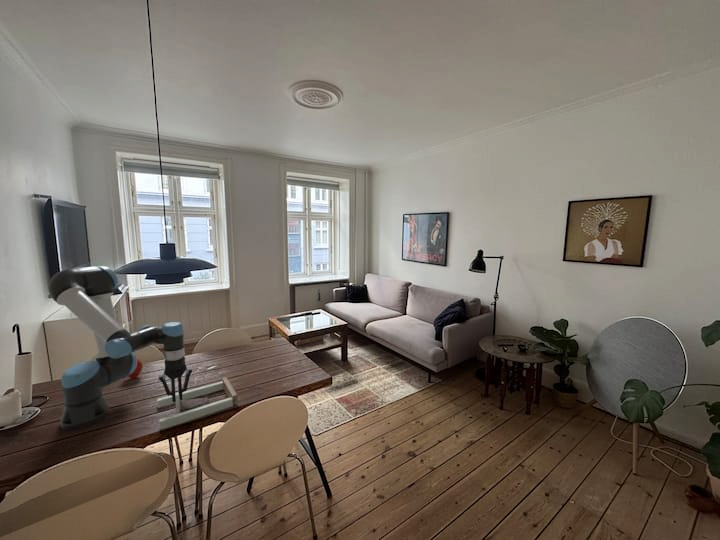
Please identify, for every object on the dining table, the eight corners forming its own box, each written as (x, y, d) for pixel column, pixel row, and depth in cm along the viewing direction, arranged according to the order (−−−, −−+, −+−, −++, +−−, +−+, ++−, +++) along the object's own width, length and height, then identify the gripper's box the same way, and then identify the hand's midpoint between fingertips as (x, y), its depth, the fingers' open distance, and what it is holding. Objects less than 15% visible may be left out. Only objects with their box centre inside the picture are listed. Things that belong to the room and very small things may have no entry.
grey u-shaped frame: (160, 429, 118) (159, 418, 117) (157, 406, 134) (156, 396, 133) (237, 404, 136) (236, 394, 136) (226, 386, 152) (226, 377, 151)
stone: (208, 401, 138) (208, 392, 138) (209, 412, 131) (209, 402, 130) (179, 408, 132) (179, 399, 132) (179, 420, 125) (178, 410, 124)
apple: (119, 380, 155) (118, 361, 154) (136, 373, 163) (134, 355, 162) (131, 383, 153) (129, 363, 151) (147, 375, 161) (145, 357, 159)
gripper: (157, 364, 120) (160, 416, 123) (192, 357, 128) (195, 406, 131) (156, 358, 126) (160, 408, 129) (190, 351, 134) (193, 398, 137)
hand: (177, 407), depth 130 cm, fingers closed
